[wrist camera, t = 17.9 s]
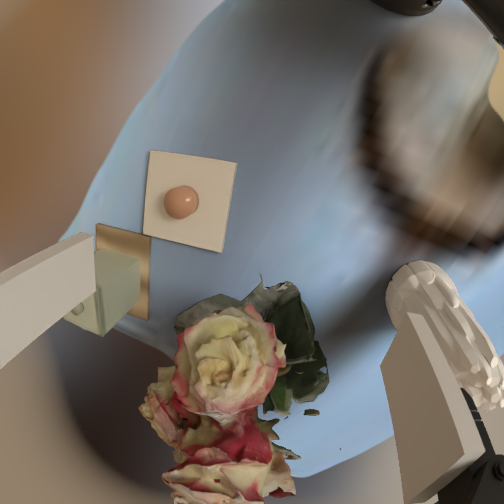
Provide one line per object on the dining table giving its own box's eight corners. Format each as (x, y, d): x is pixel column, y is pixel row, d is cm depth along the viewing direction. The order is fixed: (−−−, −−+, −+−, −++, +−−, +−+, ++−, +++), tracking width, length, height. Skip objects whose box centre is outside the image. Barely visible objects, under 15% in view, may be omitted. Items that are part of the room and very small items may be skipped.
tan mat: (98, 223, 47) (96, 224, 46) (151, 236, 46) (149, 237, 45) (101, 301, 53) (99, 303, 52) (148, 319, 51) (147, 320, 51)
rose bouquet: (284, 248, 43) (236, 421, 15) (340, 389, 49) (340, 539, 22) (146, 297, 50) (34, 414, 22) (220, 411, 57) (174, 531, 29)
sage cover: (103, 247, 48) (52, 277, 35) (140, 258, 47) (92, 293, 35) (104, 287, 50) (59, 322, 38) (140, 299, 50) (98, 341, 37)
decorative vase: (377, 320, 43) (413, 451, 20) (392, 257, 40) (462, 372, 17) (435, 323, 42) (493, 437, 19) (453, 263, 38) (543, 362, 15)
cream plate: (153, 150, 41) (142, 150, 38) (237, 162, 40) (231, 163, 36) (146, 232, 46) (135, 238, 42) (223, 250, 44) (216, 258, 41)
